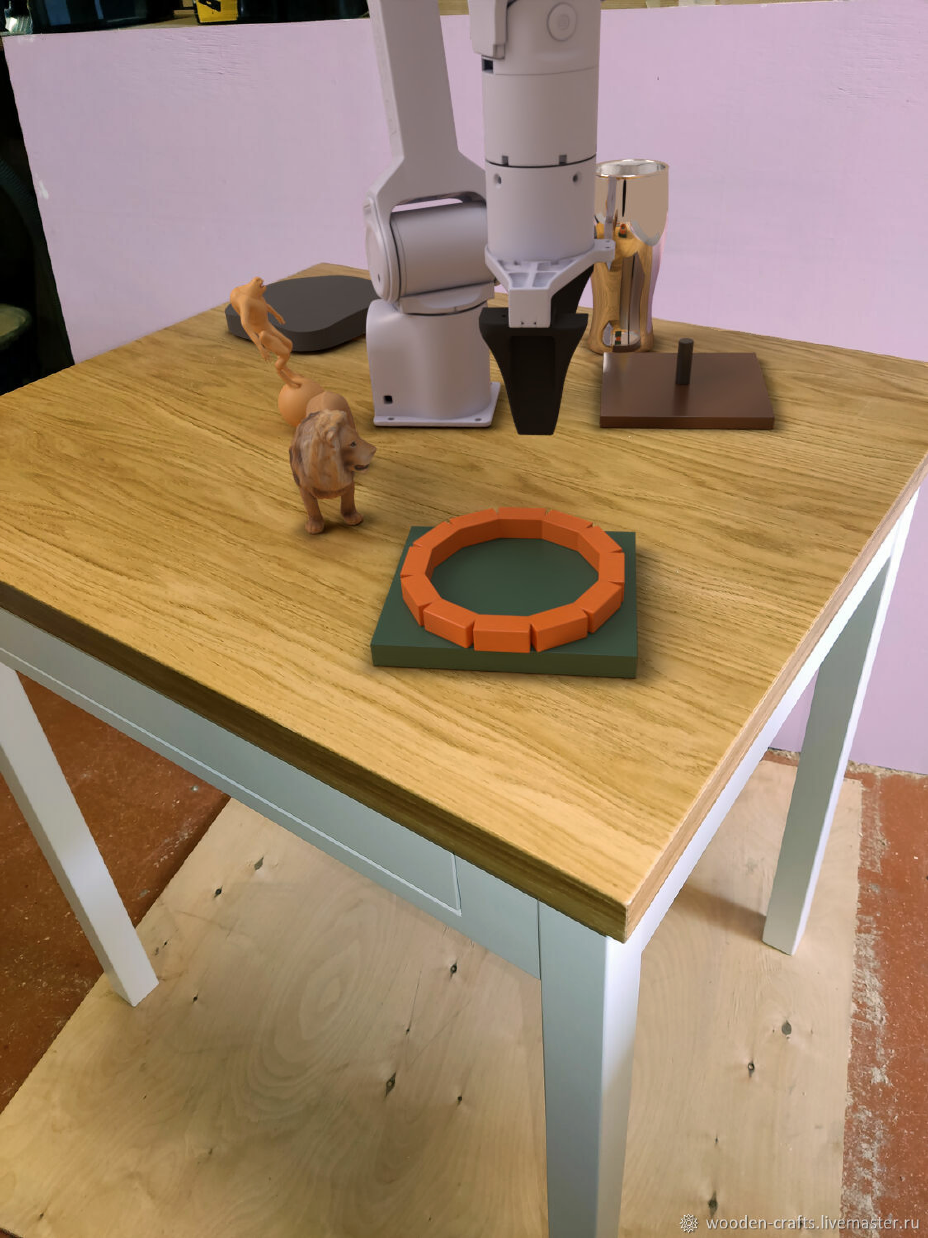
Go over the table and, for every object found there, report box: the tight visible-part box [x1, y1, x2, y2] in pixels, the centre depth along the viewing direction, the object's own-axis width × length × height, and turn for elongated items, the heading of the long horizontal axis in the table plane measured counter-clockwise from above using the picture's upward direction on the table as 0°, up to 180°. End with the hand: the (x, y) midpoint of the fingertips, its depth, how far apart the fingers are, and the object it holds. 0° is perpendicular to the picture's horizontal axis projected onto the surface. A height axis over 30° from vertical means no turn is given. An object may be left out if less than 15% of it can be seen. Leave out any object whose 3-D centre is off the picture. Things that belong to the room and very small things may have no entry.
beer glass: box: [586, 158, 670, 355], centre depth 80 cm, size 7×7×15 cm
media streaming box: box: [224, 274, 382, 352], centre depth 92 cm, size 15×15×3 cm
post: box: [599, 337, 776, 430], centre depth 73 cm, size 13×13×4 cm
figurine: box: [229, 276, 326, 429], centre depth 70 cm, size 8×6×12 cm
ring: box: [400, 506, 625, 653], centre depth 51 cm, size 12×12×1 cm
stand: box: [369, 525, 639, 679], centre depth 52 cm, size 14×12×2 cm
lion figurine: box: [288, 390, 378, 535], centre depth 61 cm, size 15×5×9 cm, turn 13°
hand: (541, 404), depth 55 cm, fingers open, 7 cm apart
